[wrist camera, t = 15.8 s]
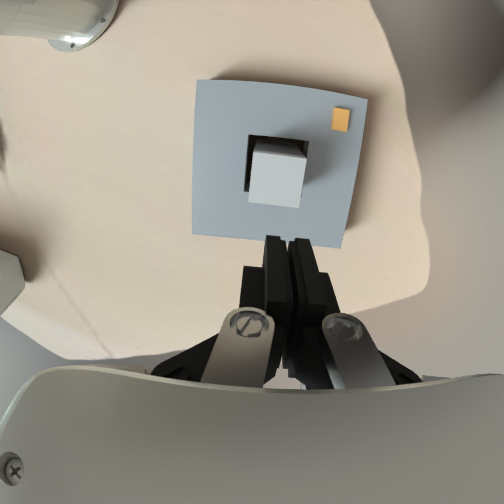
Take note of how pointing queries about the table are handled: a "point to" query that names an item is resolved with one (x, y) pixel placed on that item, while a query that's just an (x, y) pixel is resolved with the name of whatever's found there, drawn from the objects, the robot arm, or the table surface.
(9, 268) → the stereo radio cassette player
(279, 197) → the plug
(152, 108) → the table surface
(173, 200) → the table surface
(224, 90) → the socket
